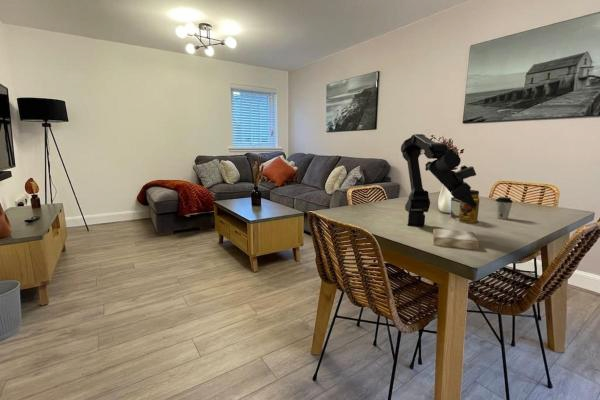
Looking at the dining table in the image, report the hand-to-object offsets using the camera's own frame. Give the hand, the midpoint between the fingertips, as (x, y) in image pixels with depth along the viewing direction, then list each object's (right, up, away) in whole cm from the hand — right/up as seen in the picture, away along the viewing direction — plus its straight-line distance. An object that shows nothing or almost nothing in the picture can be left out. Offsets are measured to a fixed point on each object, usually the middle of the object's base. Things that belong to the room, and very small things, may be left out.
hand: (474, 204), depth 108 cm
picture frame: (-7, -14, +1) cm, 16 cm away
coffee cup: (+33, -7, +34) cm, 48 cm away
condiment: (-1, -7, +3) cm, 7 cm away
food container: (+13, -8, +32) cm, 35 cm away
